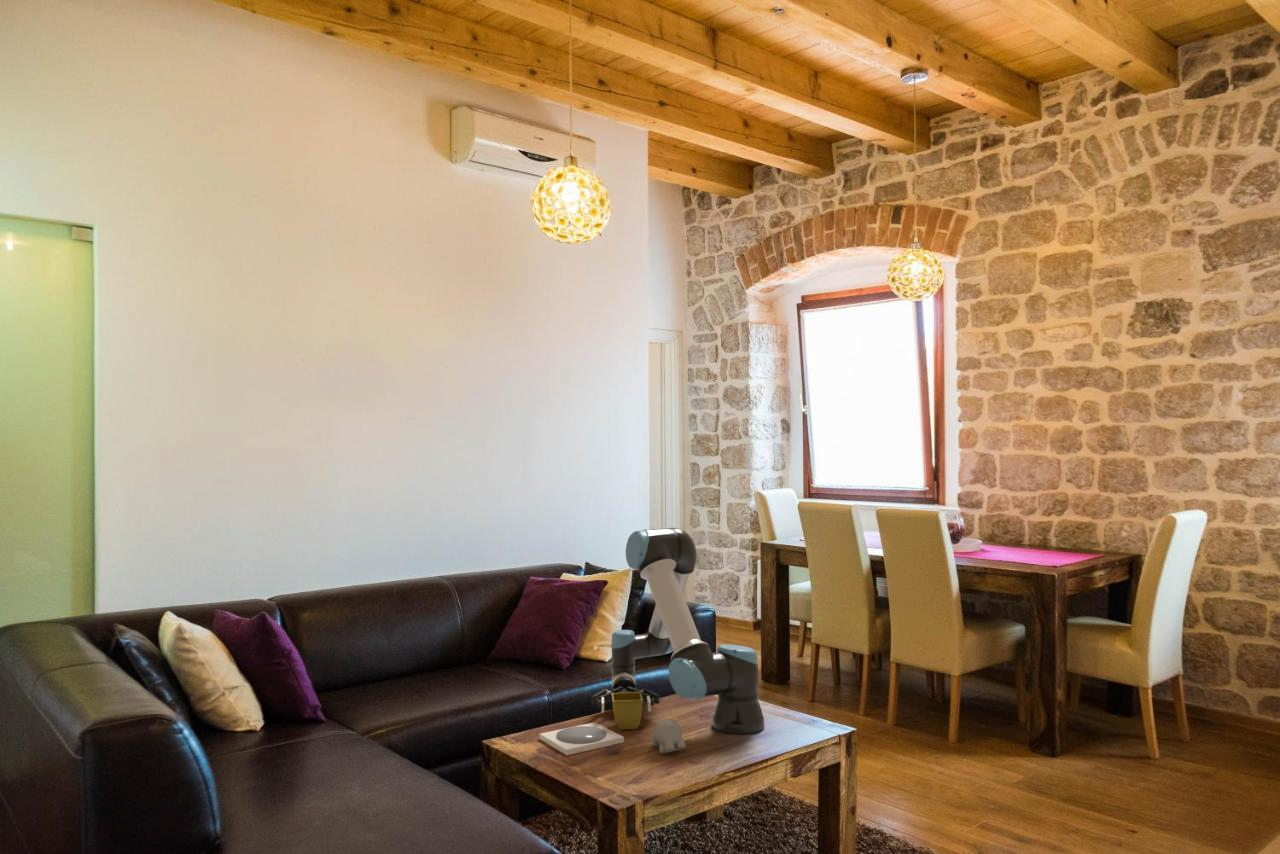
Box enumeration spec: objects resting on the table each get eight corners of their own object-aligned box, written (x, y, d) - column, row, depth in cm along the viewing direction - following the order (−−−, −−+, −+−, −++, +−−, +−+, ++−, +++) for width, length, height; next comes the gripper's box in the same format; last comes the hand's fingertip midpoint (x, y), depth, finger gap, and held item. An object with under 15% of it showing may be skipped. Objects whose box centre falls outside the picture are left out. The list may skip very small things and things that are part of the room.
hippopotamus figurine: (668, 753, 246) (662, 721, 249) (690, 748, 237) (683, 715, 240) (645, 757, 243) (639, 725, 246) (667, 752, 233) (661, 719, 236)
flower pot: (611, 722, 265) (611, 692, 265) (640, 721, 266) (640, 691, 266) (613, 732, 256) (612, 700, 256) (643, 731, 257) (643, 699, 257)
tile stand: (623, 742, 247) (623, 735, 247) (566, 755, 238) (566, 748, 238) (595, 727, 261) (595, 721, 261) (539, 739, 251) (539, 732, 251)
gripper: (663, 698, 282) (668, 719, 261) (584, 700, 281) (583, 721, 260) (663, 674, 282) (668, 693, 261) (584, 676, 281) (583, 695, 260)
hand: (626, 707), depth 260 cm, fingers open, 13 cm apart
